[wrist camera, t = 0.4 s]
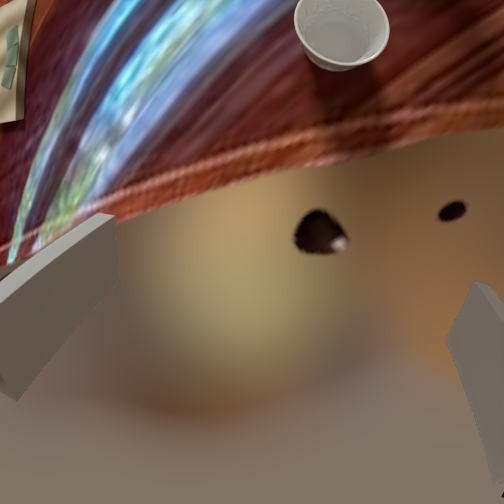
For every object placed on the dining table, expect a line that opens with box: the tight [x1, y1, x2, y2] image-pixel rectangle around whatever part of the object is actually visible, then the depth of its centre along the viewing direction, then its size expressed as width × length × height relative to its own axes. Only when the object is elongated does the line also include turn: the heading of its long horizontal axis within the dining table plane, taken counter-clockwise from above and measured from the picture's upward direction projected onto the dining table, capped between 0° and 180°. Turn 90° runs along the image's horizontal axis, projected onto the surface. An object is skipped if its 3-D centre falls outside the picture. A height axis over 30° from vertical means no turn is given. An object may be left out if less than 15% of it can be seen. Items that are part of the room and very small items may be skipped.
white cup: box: [294, 0, 389, 72], centre depth 24 cm, size 8×8×10 cm
